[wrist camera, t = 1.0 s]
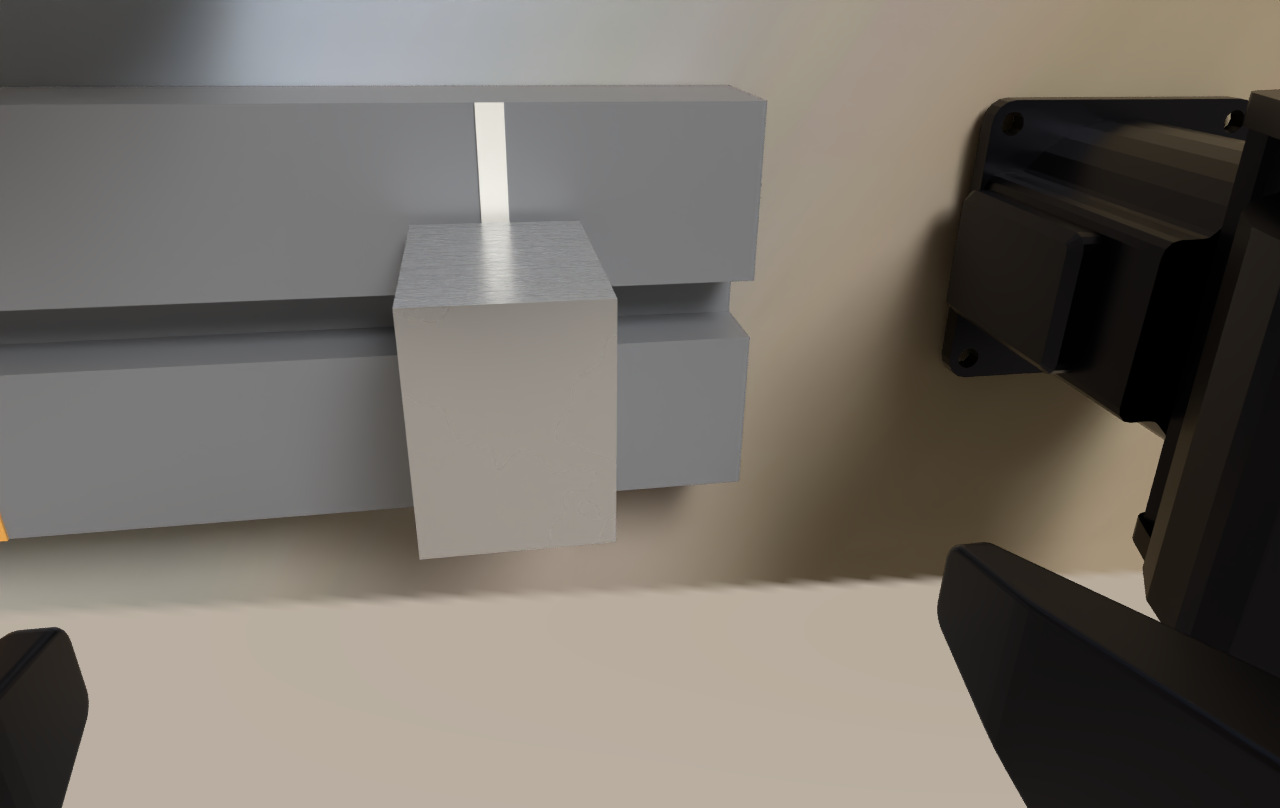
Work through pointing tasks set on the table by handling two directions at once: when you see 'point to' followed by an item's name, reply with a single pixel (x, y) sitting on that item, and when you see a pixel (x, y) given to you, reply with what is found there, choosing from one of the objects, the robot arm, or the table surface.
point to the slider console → (335, 282)
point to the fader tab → (507, 387)
